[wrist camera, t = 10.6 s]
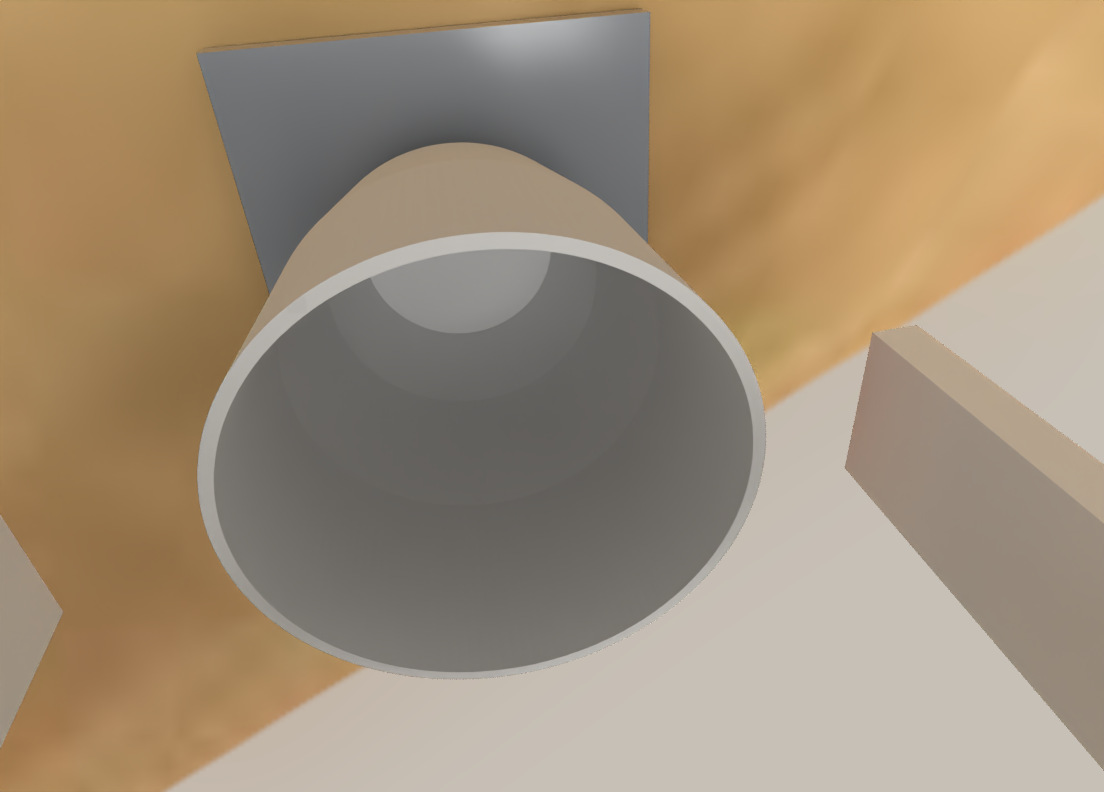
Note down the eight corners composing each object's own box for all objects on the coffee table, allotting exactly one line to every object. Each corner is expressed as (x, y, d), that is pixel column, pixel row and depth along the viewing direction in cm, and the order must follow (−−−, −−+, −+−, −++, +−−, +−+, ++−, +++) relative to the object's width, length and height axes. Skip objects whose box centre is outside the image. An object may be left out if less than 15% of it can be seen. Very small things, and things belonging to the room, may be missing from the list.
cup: (537, 411, 22) (618, 703, 14) (258, 334, 19) (150, 645, 11) (663, 157, 19) (873, 347, 10) (343, 17, 16) (277, 122, 7)
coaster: (313, 415, 22) (310, 430, 21) (204, 48, 16) (196, 53, 16) (639, 367, 23) (646, 380, 22) (640, 8, 17) (650, 12, 17)
